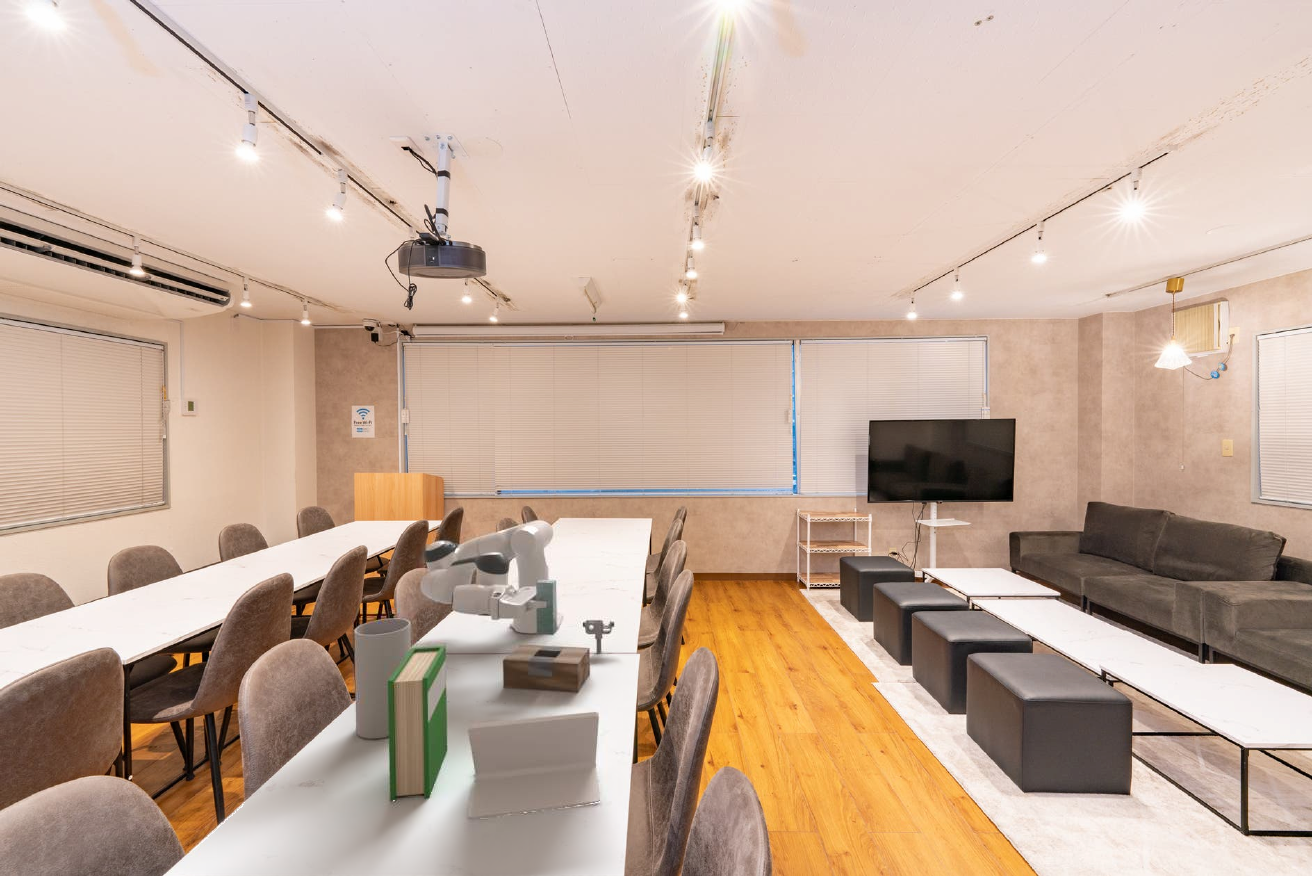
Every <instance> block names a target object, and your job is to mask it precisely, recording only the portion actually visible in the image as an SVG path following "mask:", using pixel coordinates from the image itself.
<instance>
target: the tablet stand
mask: <svg viewBox="0 0 1312 876" xmlns="http://www.w3.org/2000/svg"><path fill="white" fill-rule="evenodd" d="M599 714H600V713H599V712H597V711H592V712H591V711H590V712H583V713H579V712H578V713H572V714H560V715H559V714H558V715H550V716H541V717H533V718H532V717H531V718H519V719H511V720H500V721H491V722H490V721H489V722H480V723H471V724H469V725H468V727H467V733H468V739H469V745H470V751H471V755H472V762H473V768H474V774H475V775H474V777H475V779H474V780H475V781H474V784H473V791H472V795H471V799H470V804H469V808H468V812H467V813H468V815H467V819H468V821H474V820H475V819H477V820H482V819H483V818H485V819H491V818H498V817H497V816H500V817H505V816H504V815H508V814H516V815H521V814H520V813H524V812H531V813H533V812H532V811H539V812H543V811H542V810H547V811H552V809H555V810H560V809H559V808H563V809H566V808H565V807H570V808H575V807H574V806H577V805H586V804H590V803H595V802H599V801H600V799H601V792H600V785H599V779H598V778H599V777H598V771H597V762H596V761H597V746H598V735H599V721H600V720H599V719H600V716H599ZM601 800H602V799H601ZM586 806H587V805H586ZM524 814H525V813H524ZM508 816H509V815H508ZM481 818H482V819H481ZM475 821H476V820H475Z"/></svg>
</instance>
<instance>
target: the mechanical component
mask: <svg viewBox="0 0 1312 876" xmlns="http://www.w3.org/2000/svg"><path fill="white" fill-rule="evenodd" d="M591 626H592V627H591ZM614 627H615V622H614V621H612V620H610V621H609V623H608V624H605V623H604V620H601V619H596V620H595V619H593V620H591V619H590V620H589V619H587V620H585V621H583V622H582V628H585V633H586V634H587V635H594V639H595V640H596V641H595V643H596V652H597V653H599V654H600V653H601V652H602V639H603V638H604V636H603V635H610V634H611V633H612V630H613V628H614ZM607 629H608V630H607Z"/></svg>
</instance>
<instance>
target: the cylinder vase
mask: <svg viewBox="0 0 1312 876" xmlns="http://www.w3.org/2000/svg"><path fill="white" fill-rule="evenodd" d="M353 631H354V632H353V633H354V679H355V680H354V683H355V685H354V686H355V690H354V691H355V695H354V696H355V731H356V734H357V735H358V736H359V737H361V738H363V739H366V740H380V739H385V738H389V715H388V680H389V679H390V677H391V676H392V674H393V673H394V672H395V670H396V669H397V668H398V666H399V665H400V663H401V662H402V661H403V659H404V658H405V656H406V655H407V654H408V652H409V651H410V649H411V648H412V646H411V645H412V641H411V638H412V637H411V634H412V633H411V621H410V620H408V619H405V618H397V617H396V618H395V617H394V618H384V619H377V620H376V619H375V620H373V621H368V622H365V623H363V624H360V625H357V627H356V628H354V630H353Z"/></svg>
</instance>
